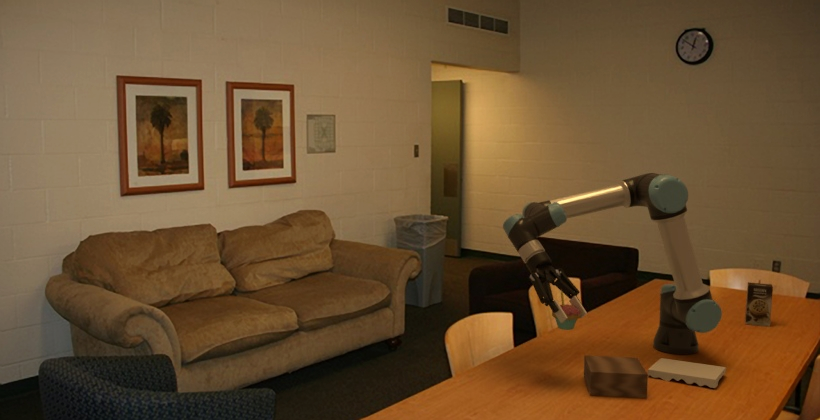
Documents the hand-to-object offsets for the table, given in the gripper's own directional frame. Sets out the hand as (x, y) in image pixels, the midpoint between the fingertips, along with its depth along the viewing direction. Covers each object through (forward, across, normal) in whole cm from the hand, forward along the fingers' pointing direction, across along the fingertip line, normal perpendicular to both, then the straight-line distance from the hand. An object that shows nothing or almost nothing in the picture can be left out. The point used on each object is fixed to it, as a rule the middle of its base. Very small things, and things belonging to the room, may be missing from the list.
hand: (574, 318), depth 225 cm
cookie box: (+14, -116, -16) cm, 118 cm away
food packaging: (+27, -34, -3) cm, 44 cm away
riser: (+21, -8, -8) cm, 24 cm away
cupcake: (0, 0, -5) cm, 5 cm away
